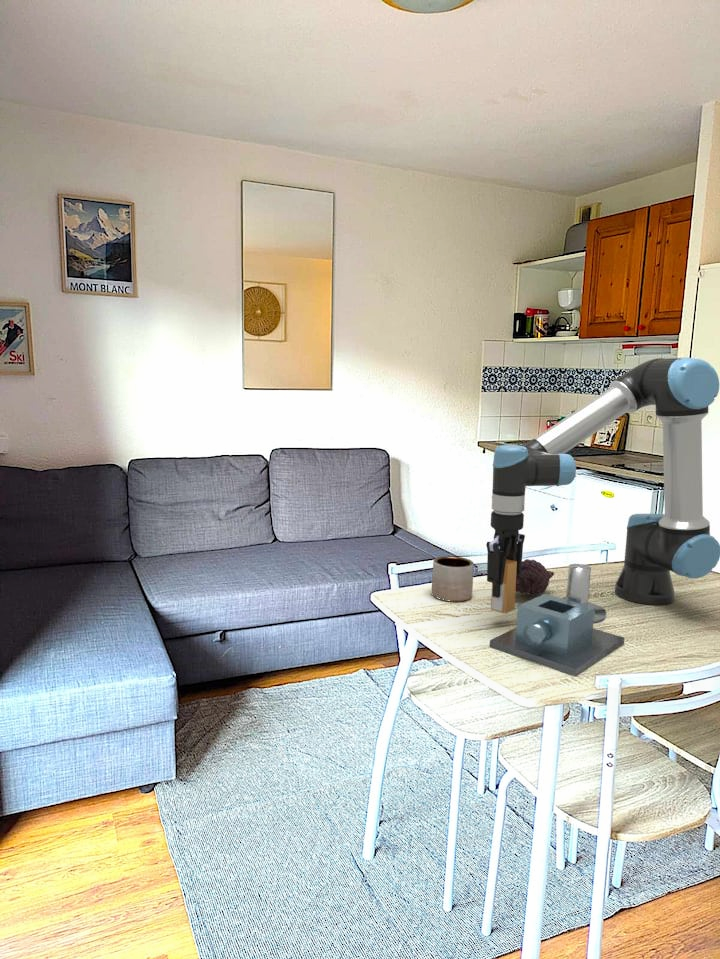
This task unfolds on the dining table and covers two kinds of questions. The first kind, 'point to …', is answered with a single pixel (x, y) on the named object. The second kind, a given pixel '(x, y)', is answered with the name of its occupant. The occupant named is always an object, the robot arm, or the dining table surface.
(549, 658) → the grey square hole fixture
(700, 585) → the dining table surface
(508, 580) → the orange rectangular block
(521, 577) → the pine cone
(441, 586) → the planter
